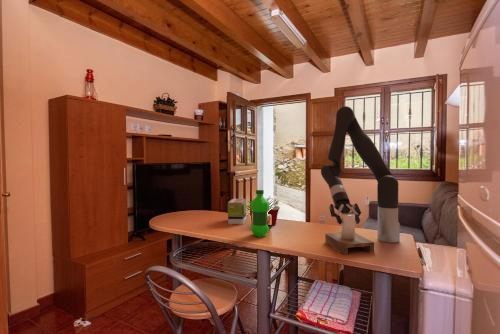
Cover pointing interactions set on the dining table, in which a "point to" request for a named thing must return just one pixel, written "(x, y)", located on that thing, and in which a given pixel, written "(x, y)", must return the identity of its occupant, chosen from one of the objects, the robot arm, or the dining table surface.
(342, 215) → the beige upright block
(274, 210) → the plastic cup
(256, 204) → the plastic bottle
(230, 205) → the tea box
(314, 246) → the dining table surface
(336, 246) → the shelf
